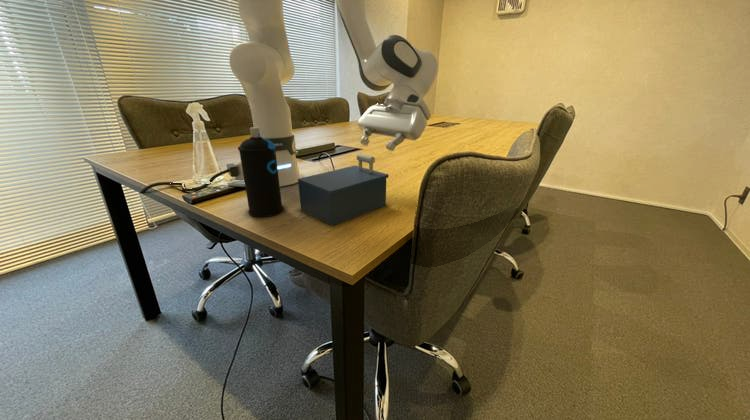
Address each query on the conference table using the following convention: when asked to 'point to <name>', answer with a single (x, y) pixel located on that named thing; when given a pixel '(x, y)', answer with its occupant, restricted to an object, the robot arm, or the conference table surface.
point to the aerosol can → (260, 175)
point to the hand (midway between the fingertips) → (375, 146)
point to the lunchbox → (342, 202)
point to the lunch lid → (345, 177)
